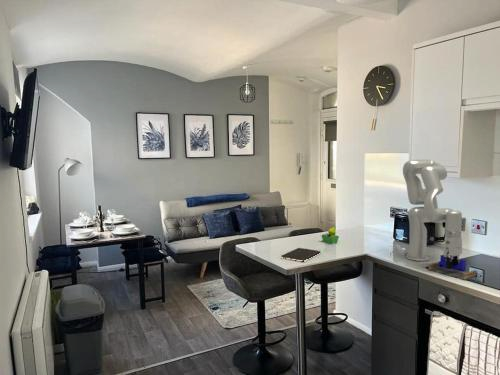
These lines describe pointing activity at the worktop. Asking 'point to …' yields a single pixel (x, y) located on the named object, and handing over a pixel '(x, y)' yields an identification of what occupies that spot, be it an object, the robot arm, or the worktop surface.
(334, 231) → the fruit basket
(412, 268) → the worktop surface
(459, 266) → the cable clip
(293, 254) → the dark spiral notebook
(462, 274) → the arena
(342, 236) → the worktop surface
